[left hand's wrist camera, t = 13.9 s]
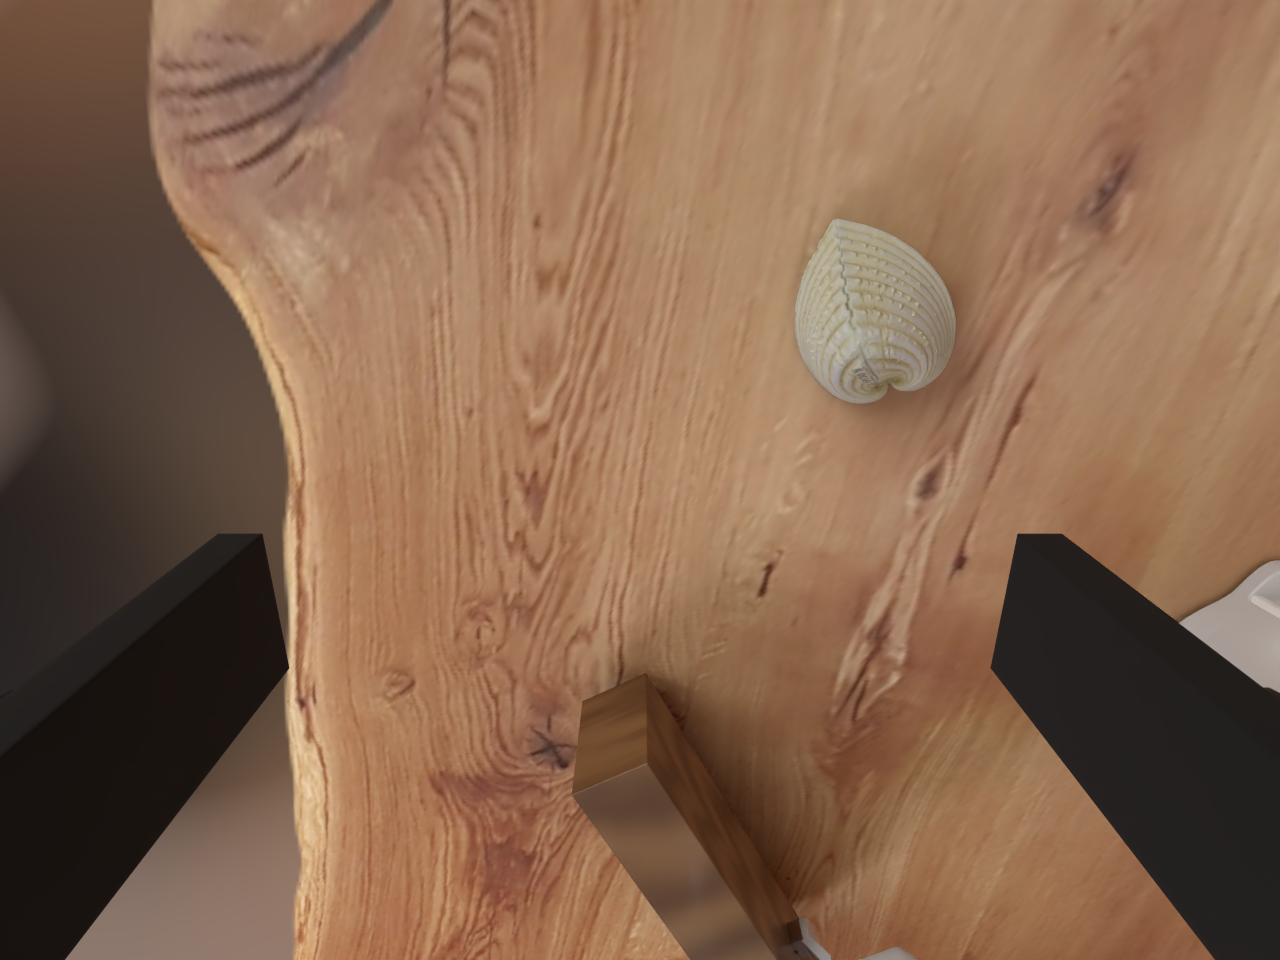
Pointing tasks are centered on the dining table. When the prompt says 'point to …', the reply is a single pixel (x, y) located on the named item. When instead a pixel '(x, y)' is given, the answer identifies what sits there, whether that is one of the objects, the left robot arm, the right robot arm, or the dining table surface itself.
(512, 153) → the dining table surface
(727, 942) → the bar
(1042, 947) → the dining table surface
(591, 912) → the dining table surface
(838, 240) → the seashell
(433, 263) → the dining table surface
